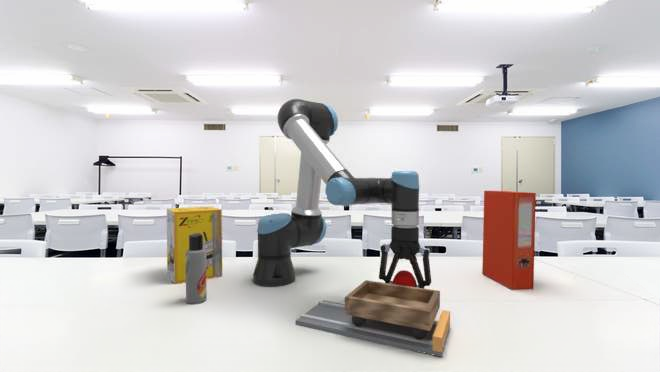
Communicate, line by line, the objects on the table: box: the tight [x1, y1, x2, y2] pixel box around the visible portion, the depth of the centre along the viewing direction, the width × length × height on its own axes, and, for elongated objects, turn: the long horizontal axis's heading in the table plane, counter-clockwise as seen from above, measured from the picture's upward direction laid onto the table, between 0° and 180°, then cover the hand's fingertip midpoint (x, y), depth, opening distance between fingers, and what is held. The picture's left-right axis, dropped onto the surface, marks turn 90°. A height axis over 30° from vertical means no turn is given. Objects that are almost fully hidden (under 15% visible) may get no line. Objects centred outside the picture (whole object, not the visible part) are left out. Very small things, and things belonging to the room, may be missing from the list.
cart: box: [344, 279, 441, 340], centre depth 80 cm, size 19×14×7 cm
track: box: [295, 299, 451, 357], centre depth 82 cm, size 35×15×4 cm, turn 64°
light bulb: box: [392, 269, 418, 287], centre depth 94 cm, size 9×7×10 cm
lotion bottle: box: [185, 233, 208, 305], centre depth 99 cm, size 6×6×20 cm
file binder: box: [481, 190, 537, 291], centre depth 118 cm, size 8×17×32 cm, turn 5°
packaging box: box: [166, 206, 223, 285], centre depth 126 cm, size 16×16×25 cm
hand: (404, 306), depth 94 cm, fingers closed on light bulb, 7 cm apart
